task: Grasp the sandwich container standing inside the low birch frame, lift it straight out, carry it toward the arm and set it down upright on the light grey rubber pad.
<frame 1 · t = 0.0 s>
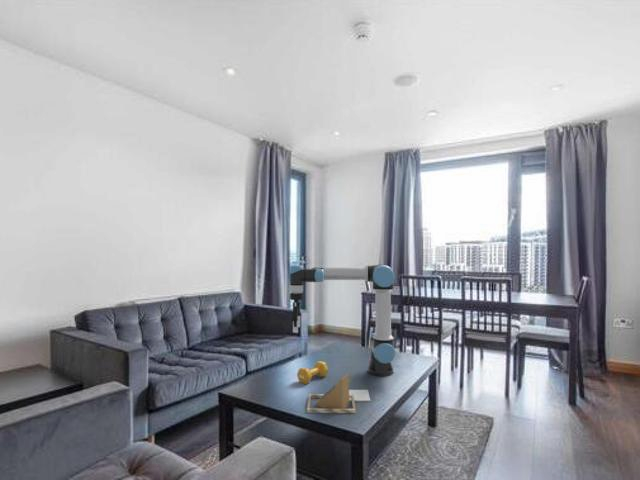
hand: (296, 329, 207), 28 cm above the table, fingers open, 13 cm apart
grey pad: (356, 396, 183), on the table
birch frame: (331, 404, 173), on the table
dumbbell: (312, 379, 207), on the table
sandwich container: (331, 405, 173), resting in birch frame
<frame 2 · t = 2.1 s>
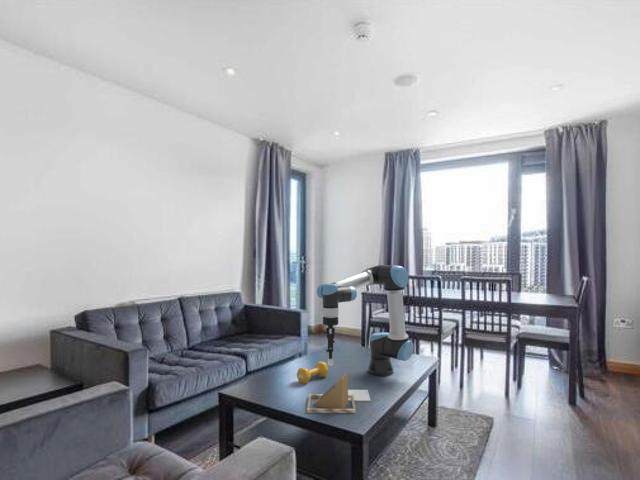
hand: (330, 361, 173), 21 cm above the table, fingers open, 13 cm apart
nothing on the table moved.
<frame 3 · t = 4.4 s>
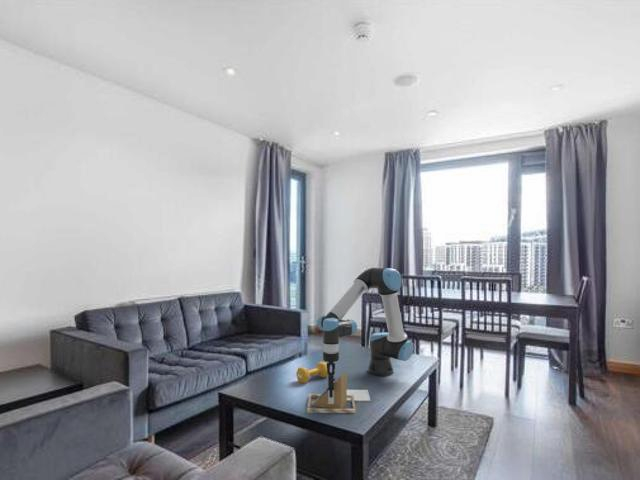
hand: (331, 399, 173), 3 cm above the table, fingers closed on sandwich container, 9 cm apart
sandwich container: (328, 404, 173), resting in birch frame, touching gripper
everything else where it was.
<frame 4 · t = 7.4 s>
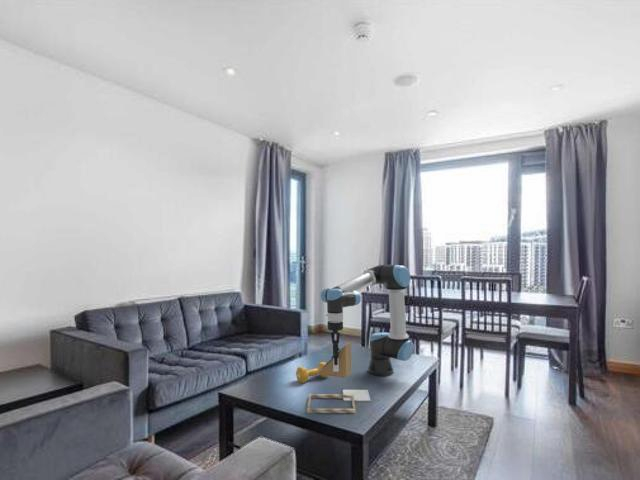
hand: (335, 367, 175), 17 cm above the table, fingers closed on sandwich container, 9 cm apart
sandwich container: (333, 373, 175), point 14 cm above the table, touching gripper
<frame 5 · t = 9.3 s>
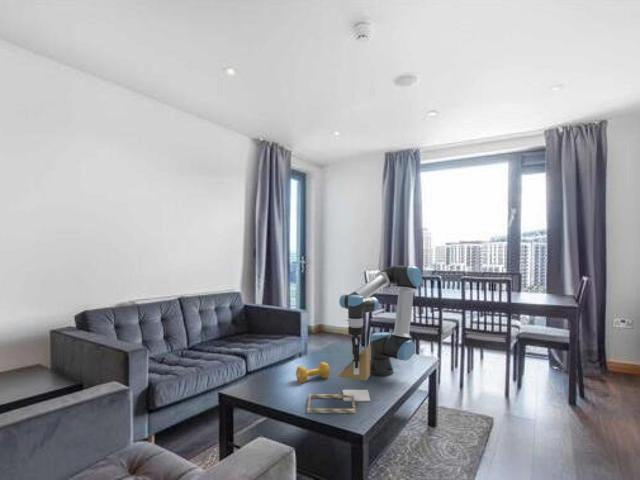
hand: (355, 370, 183), 13 cm above the table, fingers closed on sandwich container, 9 cm apart
sandwich container: (353, 376, 183), point 10 cm above the table, touching gripper
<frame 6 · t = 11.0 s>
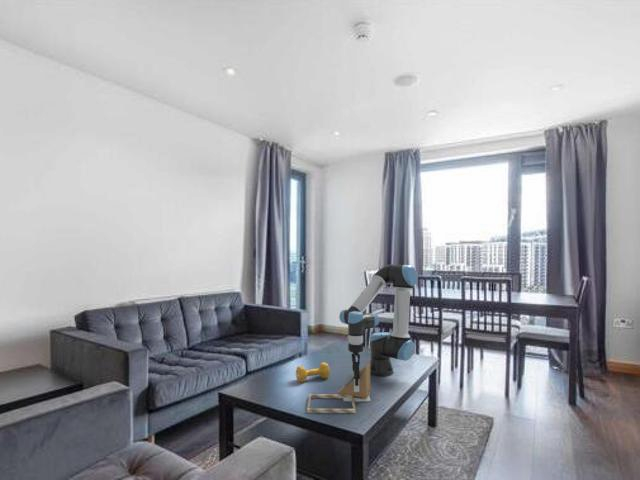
hand: (355, 387, 183), 4 cm above the table, fingers closed on sandwich container, 9 cm apart
sandwich container: (353, 393, 183), point 1 cm above the table, touching birch frame, gripper
when the fingers open (4 cm above the table, at t = 11.3 s): sandwich container stays where it is, resting on birch frame, grey pad.
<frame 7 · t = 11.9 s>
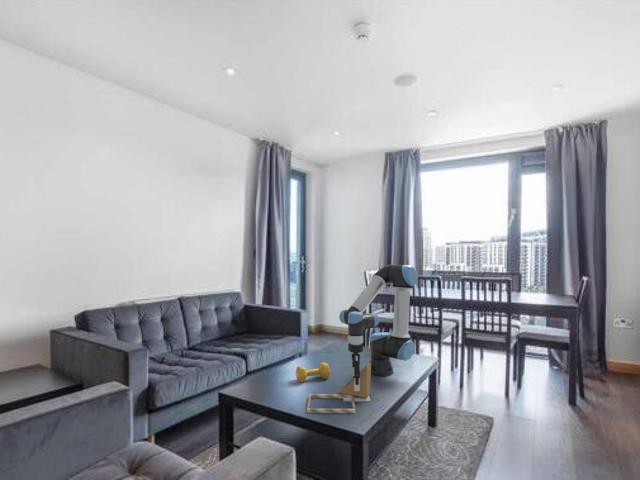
hand: (356, 385, 183), 5 cm above the table, fingers open, 13 cm apart
sandwich container: (353, 393, 183), point 1 cm above the table, touching birch frame, grey pad
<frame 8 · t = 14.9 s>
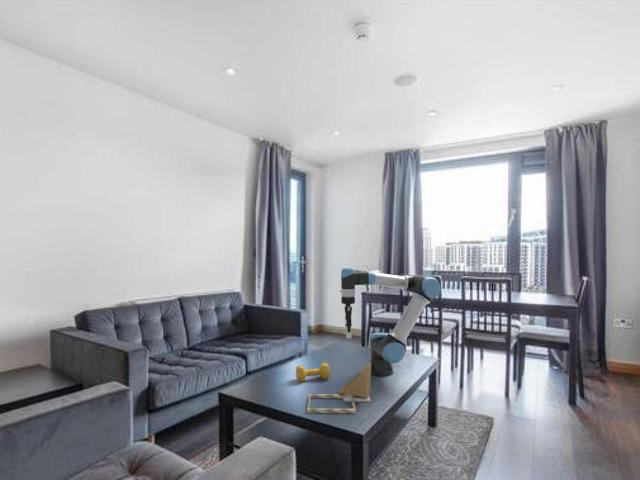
hand: (348, 335, 199), 27 cm above the table, fingers open, 13 cm apart
at the end: sandwich container inside the target area on the grey pad (1.3 cm from its centre), point 1.0 cm above the grey pad's base; sandwich container tilted 8°; the gripper is holding nothing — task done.
